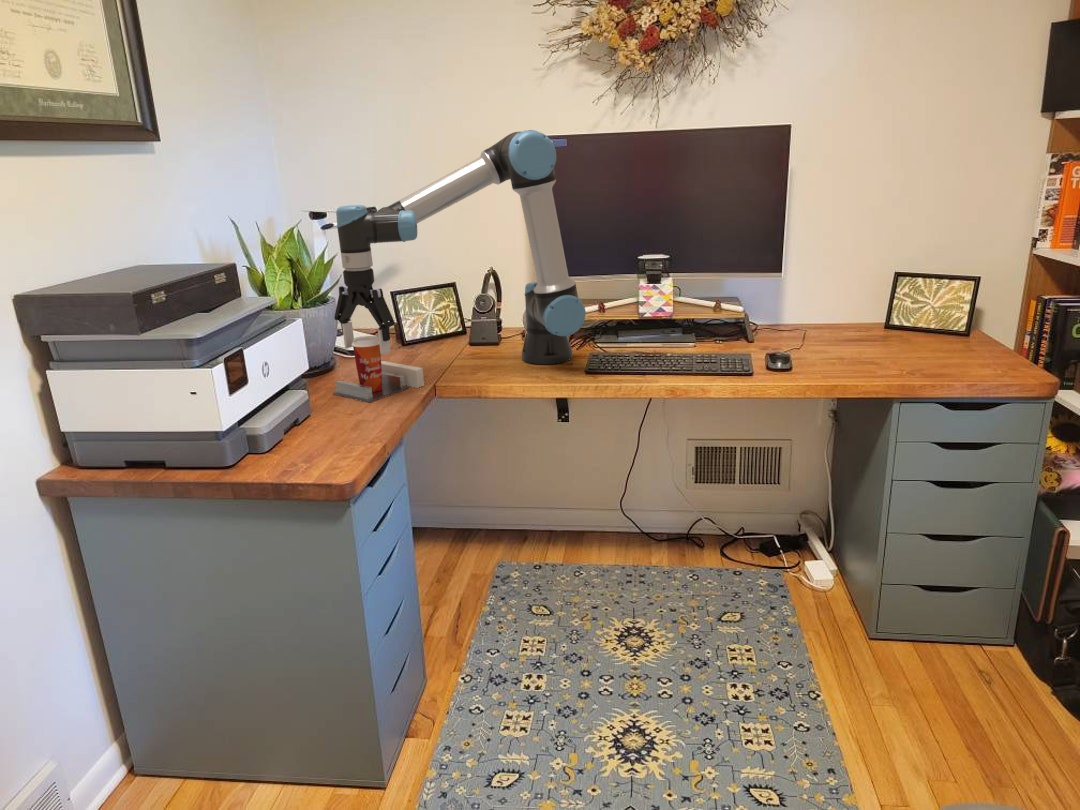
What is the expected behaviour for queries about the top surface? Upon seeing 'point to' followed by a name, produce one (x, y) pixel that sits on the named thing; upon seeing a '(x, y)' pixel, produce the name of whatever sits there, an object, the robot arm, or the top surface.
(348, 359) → the top surface
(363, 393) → the bracket
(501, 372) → the top surface
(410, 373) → the board
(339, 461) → the top surface
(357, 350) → the paper cup
